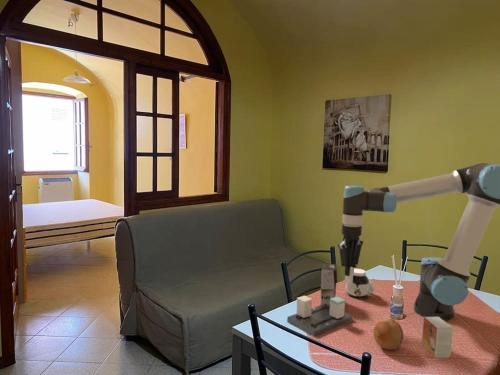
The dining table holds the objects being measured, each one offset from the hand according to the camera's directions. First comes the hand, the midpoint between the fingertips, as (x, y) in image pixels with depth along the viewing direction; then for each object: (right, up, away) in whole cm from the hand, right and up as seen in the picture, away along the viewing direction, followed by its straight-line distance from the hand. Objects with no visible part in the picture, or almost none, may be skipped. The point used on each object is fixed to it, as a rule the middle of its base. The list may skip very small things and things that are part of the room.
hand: (348, 282), depth 150 cm
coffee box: (-5, -13, +16) cm, 21 cm away
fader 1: (-18, -12, -3) cm, 22 cm away
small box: (+23, -17, -24) cm, 37 cm away
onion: (+8, -17, -22) cm, 28 cm away
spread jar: (+12, -12, +25) cm, 30 cm away
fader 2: (-5, -12, -3) cm, 14 cm away
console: (-12, -14, -3) cm, 19 cm away
